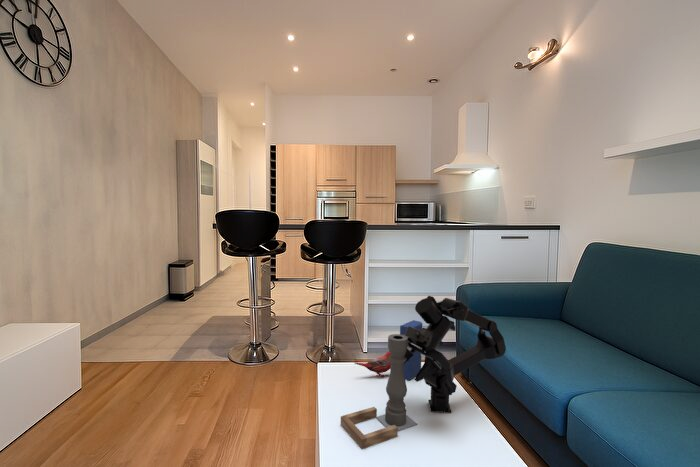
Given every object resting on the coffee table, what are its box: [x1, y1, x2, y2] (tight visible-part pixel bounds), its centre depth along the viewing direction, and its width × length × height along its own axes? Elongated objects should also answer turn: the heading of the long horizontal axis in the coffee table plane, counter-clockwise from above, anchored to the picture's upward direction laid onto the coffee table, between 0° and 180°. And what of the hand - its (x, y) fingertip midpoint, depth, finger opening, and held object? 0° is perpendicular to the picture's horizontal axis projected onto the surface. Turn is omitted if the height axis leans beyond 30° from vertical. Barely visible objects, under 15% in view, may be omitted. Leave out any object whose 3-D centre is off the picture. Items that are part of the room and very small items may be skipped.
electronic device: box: [399, 319, 423, 381], centre depth 136 cm, size 10×5×20 cm, turn 141°
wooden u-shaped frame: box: [340, 406, 399, 449], centre depth 101 cm, size 12×12×2 cm
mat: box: [375, 413, 418, 432], centre depth 106 cm, size 9×8×1 cm
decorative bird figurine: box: [354, 351, 391, 377], centre depth 134 cm, size 3×18×10 cm, turn 103°
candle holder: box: [384, 333, 408, 427], centre depth 105 cm, size 6×6×25 cm
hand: (405, 374), depth 106 cm, fingers open, 9 cm apart
